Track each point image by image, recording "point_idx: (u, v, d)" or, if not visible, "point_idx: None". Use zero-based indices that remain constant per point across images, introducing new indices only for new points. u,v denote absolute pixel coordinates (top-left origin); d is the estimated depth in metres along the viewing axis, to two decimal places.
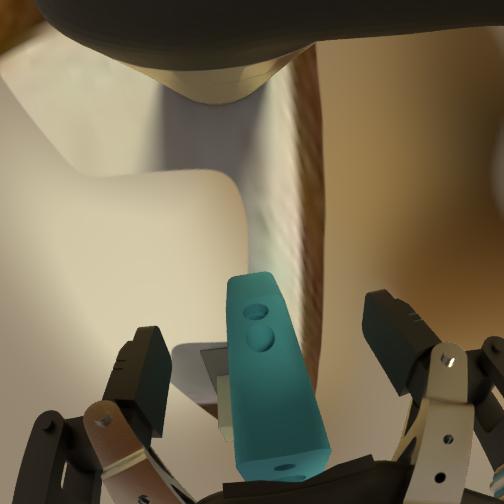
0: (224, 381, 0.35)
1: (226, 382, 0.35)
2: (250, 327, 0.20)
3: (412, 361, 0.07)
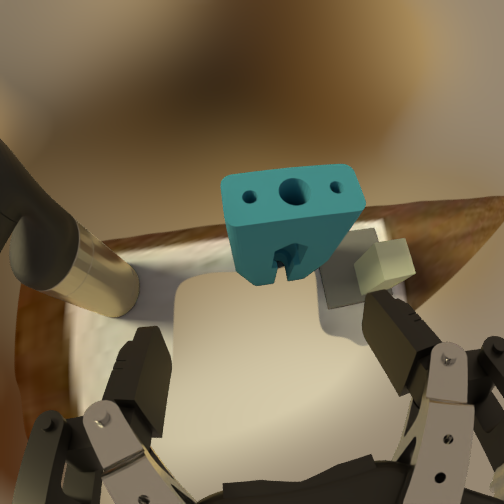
0: (362, 286, 0.39)
1: (362, 284, 0.38)
2: None
3: (412, 361, 0.07)
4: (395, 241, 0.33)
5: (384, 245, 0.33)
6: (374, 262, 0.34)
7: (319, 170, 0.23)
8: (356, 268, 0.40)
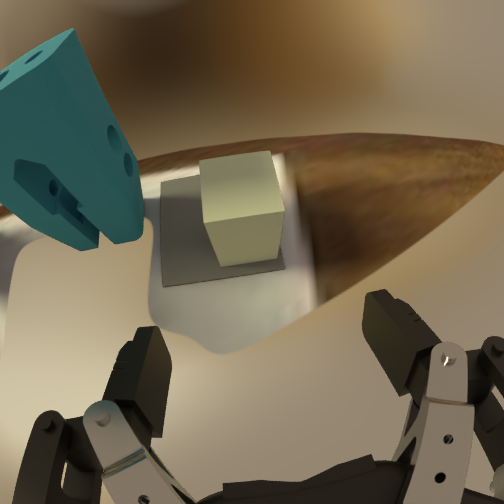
0: None
1: None
2: None
3: (412, 361, 0.07)
4: (246, 156, 0.19)
5: (218, 163, 0.18)
6: None
7: (34, 49, 0.09)
8: None
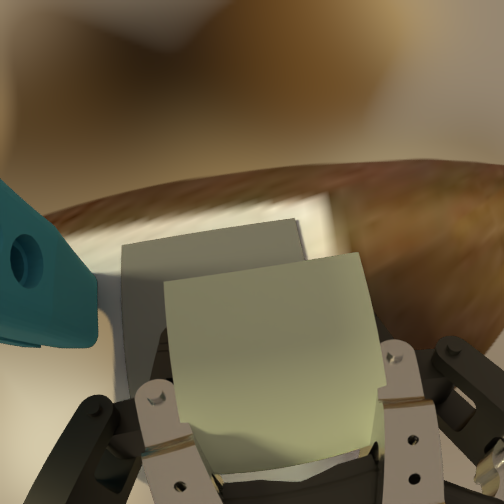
0: None
1: None
2: None
3: None
4: (296, 272, 0.07)
5: (218, 297, 0.07)
6: None
7: None
8: None
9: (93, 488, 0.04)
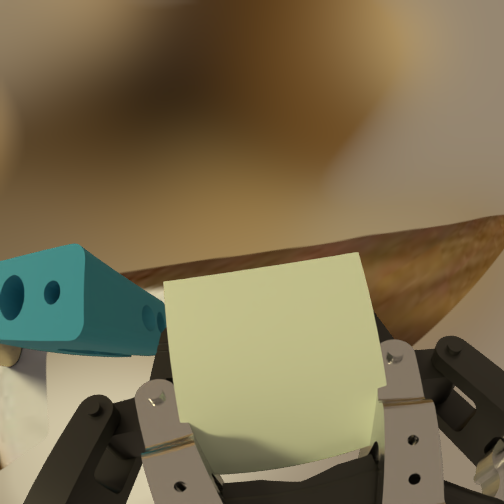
0: None
1: None
2: None
3: None
4: (296, 272, 0.07)
5: (218, 297, 0.07)
6: None
7: (42, 259, 0.12)
8: None
9: (93, 488, 0.04)
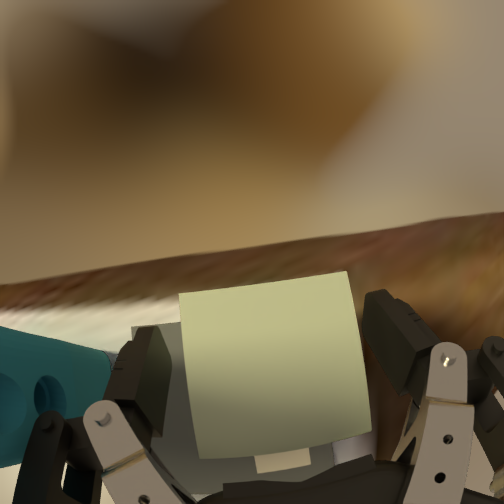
0: None
1: None
2: None
3: (412, 361, 0.07)
4: (292, 288, 0.08)
5: (226, 307, 0.08)
6: None
7: None
8: None
9: (64, 501, 0.03)
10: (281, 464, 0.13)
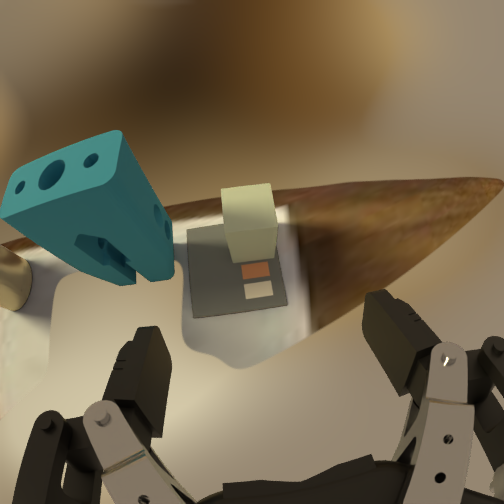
0: None
1: None
2: None
3: (412, 361, 0.07)
4: (253, 187, 0.28)
5: (234, 191, 0.28)
6: None
7: (85, 144, 0.16)
8: None
9: (64, 501, 0.03)
10: (258, 294, 0.32)
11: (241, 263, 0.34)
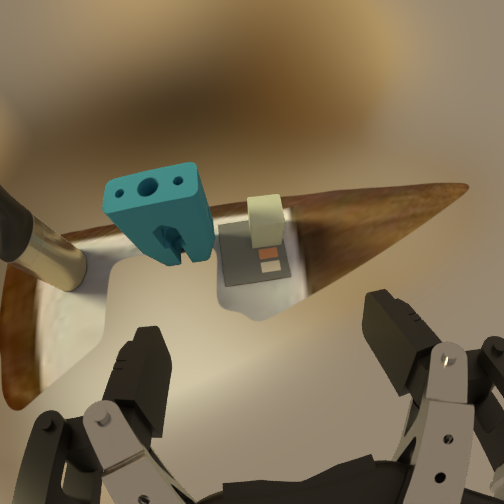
0: (251, 240, 0.48)
1: (251, 238, 0.48)
2: None
3: (412, 361, 0.07)
4: (268, 196, 0.42)
5: (256, 199, 0.42)
6: (249, 214, 0.43)
7: (170, 169, 0.31)
8: (249, 225, 0.49)
9: (64, 501, 0.03)
10: (270, 269, 0.47)
11: (258, 248, 0.48)
